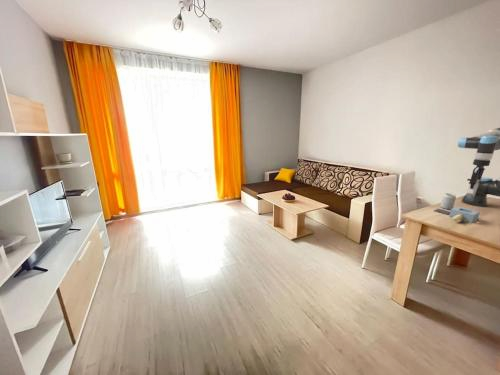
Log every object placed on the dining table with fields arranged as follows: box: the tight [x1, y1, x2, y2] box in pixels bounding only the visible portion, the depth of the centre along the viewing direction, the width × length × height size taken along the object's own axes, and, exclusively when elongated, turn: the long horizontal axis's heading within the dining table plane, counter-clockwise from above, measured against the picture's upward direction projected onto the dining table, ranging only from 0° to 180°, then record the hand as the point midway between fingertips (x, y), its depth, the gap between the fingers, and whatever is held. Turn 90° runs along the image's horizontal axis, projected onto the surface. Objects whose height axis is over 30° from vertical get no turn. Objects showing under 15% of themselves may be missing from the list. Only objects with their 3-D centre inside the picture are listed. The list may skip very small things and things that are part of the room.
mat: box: [433, 208, 450, 216], centre depth 158 cm, size 8×8×1 cm
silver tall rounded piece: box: [465, 178, 483, 201], centre depth 142 cm, size 4×8×15 cm, turn 29°
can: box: [439, 192, 457, 211], centre depth 164 cm, size 8×8×12 cm
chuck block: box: [448, 205, 481, 224], centre depth 145 cm, size 22×12×6 cm, turn 119°
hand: (471, 192), depth 142 cm, fingers closed on silver tall rounded piece, 4 cm apart
